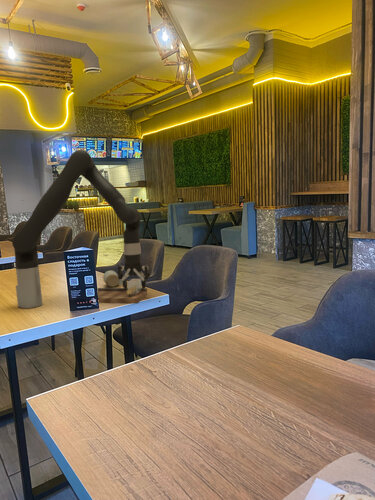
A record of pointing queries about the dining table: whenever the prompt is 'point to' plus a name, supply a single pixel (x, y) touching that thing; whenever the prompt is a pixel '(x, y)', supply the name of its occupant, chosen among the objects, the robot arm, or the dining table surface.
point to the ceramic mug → (112, 279)
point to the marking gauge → (134, 287)
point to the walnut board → (119, 295)
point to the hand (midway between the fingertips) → (134, 288)
